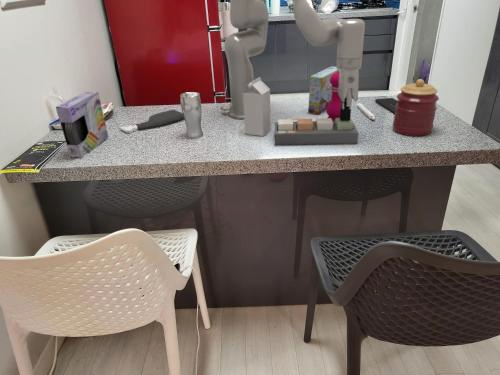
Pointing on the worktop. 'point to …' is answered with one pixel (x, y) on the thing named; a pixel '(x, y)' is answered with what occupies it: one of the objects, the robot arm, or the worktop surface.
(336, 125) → the key sage
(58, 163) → the worktop surface
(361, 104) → the marker
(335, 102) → the pepper mill
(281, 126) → the key white left
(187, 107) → the beer glass
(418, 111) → the canister
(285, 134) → the keypad
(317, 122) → the key white mid
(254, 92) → the milk carton
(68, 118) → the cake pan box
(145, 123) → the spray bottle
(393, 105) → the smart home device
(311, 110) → the snack box
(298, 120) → the key terracotta
